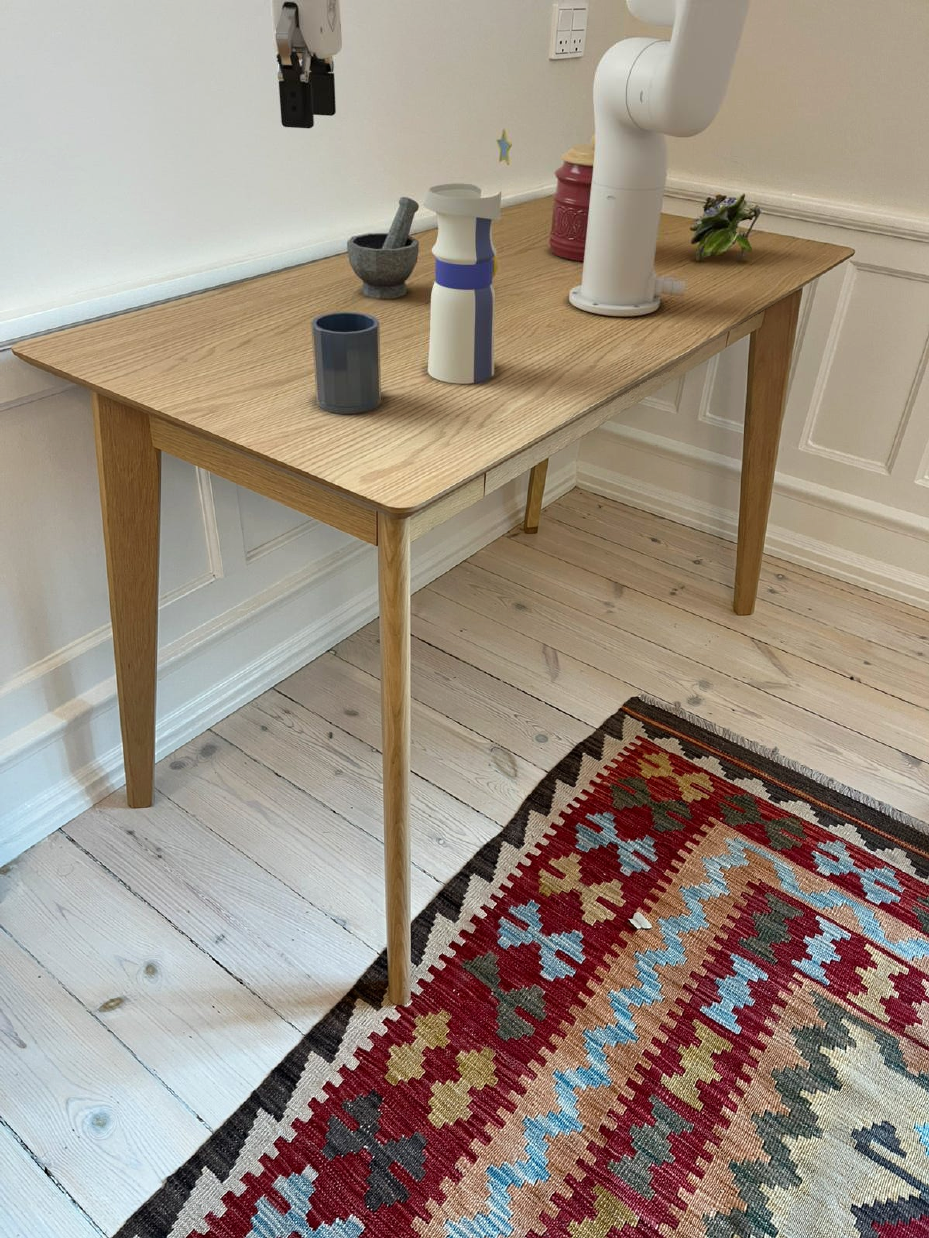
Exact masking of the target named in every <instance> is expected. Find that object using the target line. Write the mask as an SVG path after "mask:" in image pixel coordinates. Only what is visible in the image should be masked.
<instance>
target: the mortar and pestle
mask: <svg viewBox="0 0 929 1238" xmlns="http://www.w3.org/2000/svg"><path fill="white" fill-rule="evenodd" d="M398 203H399V205H398V209H397V211H396V214H395V216H394V218H393V221H392V223H391V226H390V228H389V231H388V232H368V233H364V234H358V235H353V236H351V238H350V239H349V240H347V241H346V245H347V248H346V249H347V257H348V261H349V265H350V267H351V269H352V270H353V272H354V274H355V275H356V276H357V277H358V278H359V279H360V280H361V281H362V286H361V293H362V294H363V295H365V296H366V297H367V298H373V299H378V300H385V299H389V300H390V299H391V300H392V299H397V298H401V297H404V296H405V295H406V293H407V284H406V281H407V280H408V279H409V277H411V276H412V273H413V271H414V269H415V267H416V265H417V263H418V258H419V252H420V251H419V250H420V249H419V248H420V247H419V246H420V242H419V240H418V239H416V238H414V237H412V236H410V232H411V229H412V224H413V221H414V218H415V215H416V212H418V211H419V207H420V205H419V203H418V202H417V201H415V200H414V199H413V198H410V197H407V196H401V197H400V198H399V200H398Z"/></svg>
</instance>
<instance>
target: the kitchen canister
mask: <svg viewBox="0 0 929 1238" xmlns="http://www.w3.org/2000/svg"><path fill="white" fill-rule="evenodd" d="M594 154H595V133H594V134H593V135H592V137H591V140H590V144H579V145H574V146H572V147H571V148H570V149H569V150H567V151H565V152H564V153H563V154H562V155H561V156H560V157H561V160H562V161H563V163H562V165H561V166H560V167H558V168H557V169H556V170H555V171H554V176H555V178H556V180H557V183H556V188H555V189H556V190H555V192H554V193H553V195H552V198H553V202H552V203H553V205H552V218H551V230H550V233H549V241H548V242H549V247H550V250H549V251H550V252H551V253H552V254H554V255H555V256H557V257H560V258H563V259H567V260H573V261H578V262H584V255H585V245H586V235H587V225H588V215H589V204H590V194H591V184H592V176H593V166H594Z"/></svg>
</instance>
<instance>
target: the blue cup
mask: <svg viewBox="0 0 929 1238" xmlns="http://www.w3.org/2000/svg"><path fill="white" fill-rule="evenodd" d="M380 327H381V326H380V321H379V320H378V318H377V317H375V316H373V315H370V314H368V313H363V312H357V311H356V312H355V311H338V312H330V313H329V312H328V313H325V314H320V315H319V316H317V317H314V318H313V319H312V321H311V322H310V329H311V330H310V331H311V342H312V343H311V344H312V358H313V372H314V385H315V396H316V403H317V405H318V407H319V408H320V409H322V410H324V411H326V412H329V413H333V414H341V415H356V414H364V413H367V412H370V411H372V410H375V409H376V408H378V407H379V406H380V405H381V402H382V374H381V373H382V371H381V369H382V368H381V331H380V330H381V329H380Z"/></svg>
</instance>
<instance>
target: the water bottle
mask: <svg viewBox="0 0 929 1238" xmlns="http://www.w3.org/2000/svg"><path fill="white" fill-rule="evenodd" d="M496 144H497V145H498V148H499V161H498V162H499V163H502V162H503V161H504V162H505V163H506V165H508V166H509V165H510V157H509V150H511V148H512V146H513V144H512V142H510V141H508V138H507V133H506V129H505V128H503V129H502V134H501V138H496ZM501 204H502V191H499V193H497V194H496V195H492V196H488V197H482V189H481V188H480V187H479V186H477V185H475V184H471V183H457V182H456V183H445V184H444V183H443V184H438V185H434V186H432V187H431V186H430V188H429V189H428V192H427V194H426V196H425V199H424V201H423V204H422V205H423V207H424V208H425V209H427V210H429V211H432V212H434V213H435V216H436V221H437V229H438V230H437V237H436V242H435V244H434V245H433V246H432V248H431V253H432V255H434V257H435V269H434V271H435V273H434V275H435V279H434V283H433V285H432V289H431V295H430V317H429V319H430V320H429V321H430V322H429V323H430V324H429V330H430V331H429V347H428V361H427V373H428V375H429V376H431V378H433V379H435V380H438V381H440V382H445V383H448V384H458V385H459V384H462V385H463V384H464V385H466V384H476V383H482V382H484V381H488V380H490V379H491V378H492V377H493V376H494V375H495V319H496V318H495V317H496V315H495V314H496V293H495V287H494V284H493V278H495V276H496V275H497V272H498V259H497V254H498V251H497V249H496V247H495V245H494V242H493V236H492V233H493V232H492V231H493V230H492V229H493V224H494V223H493V222H494V221H499V225H500V226H502V217H501V215H502V214H501V208H502V207H501V206H502V205H501Z"/></svg>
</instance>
